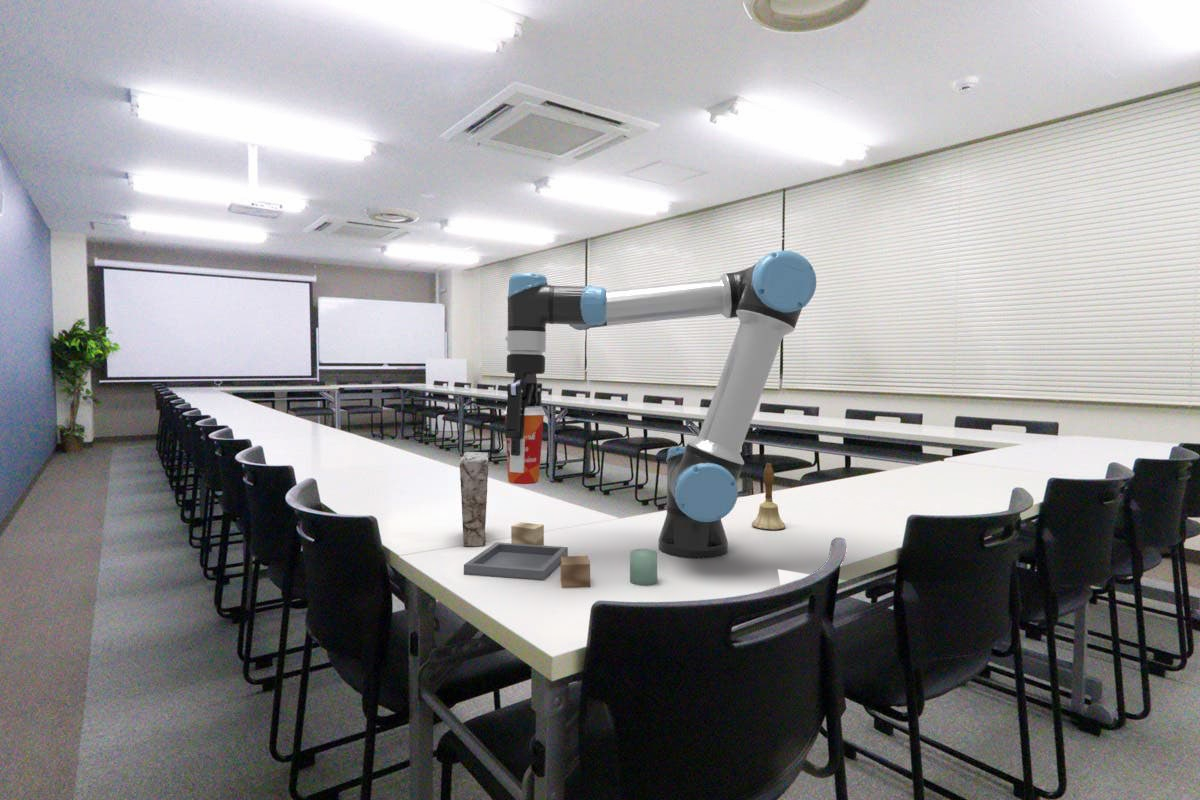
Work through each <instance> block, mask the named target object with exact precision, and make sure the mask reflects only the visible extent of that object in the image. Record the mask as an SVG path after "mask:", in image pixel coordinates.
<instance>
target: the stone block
mask: <svg viewBox="0 0 1200 800" xmlns="http://www.w3.org/2000/svg"><path fill="white" fill-rule="evenodd" d="M459 460H460V461H459V475H460V478H459V480H460V494H461V501H460V502H461V516H462V519H461V520H462V537H463V546H465V547H466V546H467V547H485V546H486V540H487V539H486V519H487V503H488V500H487V499H488V478H489V453H488V452H484V451H483V452H480V451H478V452H477V451H465V452H463V456H462V457H460V459H459Z"/></svg>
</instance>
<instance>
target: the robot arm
mask: <svg viewBox="0 0 1200 800" xmlns="http://www.w3.org/2000/svg"><path fill="white" fill-rule="evenodd" d="M547 281H548V280H547V277H546V276H545V275H544V274H541V273H540V274H539V273H530V272H526V273H525V272H523V273H521V272H519V273H515V274H512V275H511V276H510V278H509V280H508V292H507V293H508V295H507V299H506V300H507V336H505V341H506V342H507V343H506V344H507V345H506V349H507V351H508V352H509V353H508V354H507V356H506V372H507V373H508V374H514V377H513V382H512V383H507V385H506V389H507V391H506V393H507V398H506V399H507V401H506V407H507V415H506V416H505V432H504V433H505V434H504V438H505V439H506V438H510V472H518V473H523V472H524V452H525V439H522V438H523V432H524V425H525V415H524V414H525V408H527V406H541V407H543V406H542V403H543V402H542V392H543V391H542V389H543V384H542V383H541V382H538V381H537V374H539V375H543V374H545V372H546V357H545V355H543V353H545V352H546V351H547V350H546V344H547V342H546V341H547V339H546V337H547V335H546V334H547V331H546V329H547V328H546V326H547V325H548V324H549V325H569V326H570V327H571V328H573V329H574V330H577V331H586V330H589V329H593V328H602V327H610V326H620V325H628V324H629V325H630V324H639V323H647V322H657V321H659V322H660V321H667V320H668V321H669V320H677V319H678V320H679V319H688V318H696V317H697V318H698V317H706V316H707V317H708V316H717V315H722V316H723V317H724V318H725V319H734V318H738V320H739V325H738V329H737V330H736V334H735V335H734V339H733V341H732V344H731V347H730V349H729V351H728V352H729V353H728V355H727V359H726V360H725V363H724V366H723V368H722V371H721V374H720V376H719V380H718V382H717V385H716V388H715V390H714V393H713V396H712V398H711V401H710V404H709V407H708V410H707V412H706V415H705V418H704V420H703V423H702V426H701V429H700V432H699V435H697V437H696V438H694V439H691V440H689V441H688V442H687V444H686V446H671V447H670V448H668V450H667V456H666V459H665V460H666V467H667V469H666V470H667V471H666V476H667V477H666V515H665V519H664V522H663V525H662V528H661V531H660V534H659V537H658V551H660V552H661V553H662V554H665V555H668V556H672V557H677V558H682V559H683V558H684V559H695V560H696V559H713V558H719V557H722V556H725V555H727V554H728V551H729V542H728V538H727V535H726V531H725V529H724V525H723V523H722V519H723V518H724V517H726V516H727V515H729V514H730V512H731V511H733V509H734V508H735V505H736V503H737V499H738V496H739V495H738V493H739V492H738V490H739V487H738V481H739V478H740V475H741V472H742V470H743V467H744V465H745V461H744V459H743V457H742V455H741V450H742V447H743V444H744V442H745V440H746V437H747V434H748V431H749V429H750V426H751V422H752V421H753V418H754V416H755V413H756V411H757V410H756V409H757V406H758V404H759V403H760V398H761V396H762V394H763V390H764V388H765V386H766V383H767V381H768V378H769V375H770V372H771V369H772V368H773V364H774V361H775V359H776V356H777V354H778V352H779V351H778V350H779V348H780V345H781V343H782V340H783V337H785V336H786V335H789V334H791V333H792V332H794V331H795V328H796V326H797V323H798V321H799V317H800V316H801V312H802V310H803V309H804V307H805V308H806V306H807V305H808V304H809V303H810V301H811V300H812V298H813V297H814V295H815V292H816V289H817V275H816V272H815V270H814V268H813V266H812V264H811V263H810V261H809V260H808V259H807V258H806V257H804V256H803V255H801V254H800V253H798V252H796V251H791V250H777V251H773V252H769V253H768V254H766V255H764V256H763V257H761V258H760V259H759V260H758V262H756V263H755V264H754V265H752V266H750V267H747V268H745V269H742V270H738V271H734V272H728V273H727V272H725V273H723V274H722V275H721V276H720V277H719V278H716V279H706V280H697V281H688V282H687V281H686V282H680V283H679V282H678V283H670V284H668V283H667V284H661V285H652V286H651V285H650V286H642V287H641V286H640V287H633V288H622V289H615V290H607V289H606V288H604V287H602V286H592V285H587V286H586V285H584V286H583V285H576V286H575V285H552V284H549V283H548V282H547ZM521 408H522V409H521Z"/></svg>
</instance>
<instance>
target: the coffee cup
mask: <svg viewBox="0 0 1200 800" xmlns="http://www.w3.org/2000/svg"><path fill="white" fill-rule="evenodd" d="M521 409H522V408H521ZM503 414H504V415H505V417H506V415H507V406H506V407H505V411H504V412H503ZM524 415H525V425H524V432H523V438H522V439H525V452H524V472H523V473H518V472H510V438H505V439H506V463H507V464H506V465H507V479H508V480H507V481H508V483H510V484H514V485H533V484H537V483H538V482H539V478H540V468H541V459H542V458H541V456H542V446H543V445H542V442H543V432H544V431H543V429H544V417H545V415H547V414H546V412H545V409H544V407H543V406H542V407H541V406H527V408H525V414H524Z"/></svg>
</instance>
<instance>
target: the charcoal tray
mask: <svg viewBox="0 0 1200 800" xmlns="http://www.w3.org/2000/svg"><path fill="white" fill-rule="evenodd" d="M568 549H569V548H568V546H557V545H544V546H543V545H529V544H514V543H510V542H497V541H495V542H494V543H493V544H491V545H490V546H489V547H487V548H485V550H483V551H481V552H480V553H479V554H476V556H474V557H473V558H471V559H470V560H469V561H467V562H465V563H464V564H463V575H464V576H477V577H489V578H490V577H491V578H503V579H517V580H531V581H542V582H543V581H545V580H546V579H547V578H549V576H550V575H551V574H552V573H554V572H555V571H556V569H558V567H559V566H561V565H560V564H561V557H564V556H568V555H569V554H568V553H569V552H568V551H569V550H568Z"/></svg>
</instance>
